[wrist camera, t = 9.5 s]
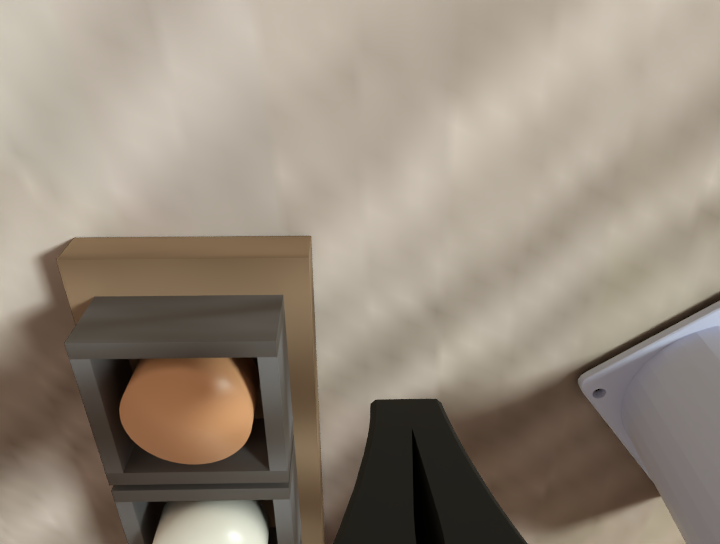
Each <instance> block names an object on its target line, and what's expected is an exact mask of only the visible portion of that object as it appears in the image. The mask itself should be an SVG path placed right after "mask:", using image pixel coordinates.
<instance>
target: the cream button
mask: <svg viewBox="0 0 720 544" xmlns="http://www.w3.org/2000/svg"><path fill="white" fill-rule="evenodd" d="M269 530H270V518H269V515H268V512H267V510H266V509H265V507H264V506H263V505H262V504H261V503H260V502H259V501H258V500H222V501H167V503H166V504H165V506H164V508H163V511H162V514H161V517H160V520H159V524H158V527H157V530H156V534H155V537H154V540H153V543H152V544H268V538H269Z"/></svg>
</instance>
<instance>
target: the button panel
mask: <svg viewBox="0 0 720 544" xmlns="http://www.w3.org/2000/svg"><path fill="white" fill-rule="evenodd" d="M56 261H57V265H58V268H59V271H60V275H61V278H62V281H63V285H64V288H65V291H66V295H67V298H68V301H69V305H70V308H71V311H72V315H73V318H74V321H75V325H76V326H75V328H74V329H73V331H72V332H71V334H70V336H69V337H68V339H67V340H66V342H65V343H64V344H65V347H66V350H67V354H68V357H69V360H70V363H71V366H72V369H73V372H74V375H75V379H76V382H77V385H78V388H79V391H80V394H81V397H82V401H83V404H84V407H85V410H86V413H87V416H88V419H89V423H90V426H91V429H92V432H93V435H94V438H95V441H96V444H97V448H98V451H99V454H100V457H101V460H102V463H103V466H104V470H105V473H106V476H107V479H108V482H109V485H114V486H113V488H112V490H111V492H112V495H113V498H114V501H115V504H116V507H117V510H118V513H119V517H120V520H121V523H122V526H123V529H124V532H125V535H126V539H127V542H128V544H152V543H153V540H154V537H155V534H156V530H157V527H158V524H159V520H160V517H161V514H162V511H163V508H164V506H165V504H166V503H167V501H222V500H258V501H259V502H260V503H261V504H262V505H263V506H264V507H265V509H266V510H267V512H268V515H269V518H270V530H269V538H268V544H325V535H324V512H323V490H322V468H321V446H320V423H319V401H318V379H317V357H316V335H315V312H314V290H313V268H312V246H311V236H238V237H107V238H74V239H73V240H72V241H71V242H70V244H69V245H68V246H67V247H66V249H65V250H64V251H63V252H62V253H61V255H60V256H59V257H58V258H57V259H56ZM242 357H251V358H252V359H253V360H254V362H255V364H256V366H257V369H258V372H259V377H260V384H259V391H258V396H257V402H256V407H255V413H254V418H253V424H252V430H251V433H250V436H249V438H248V440H247V442H246V443H245V444H244V445H243V447H242V448H240V449H239V450H238V451H237V452H236V453H234V454H233V455H231V456H229V457H227V458H225V459H222V460H220V461H216V462H213V463H207V464H181V463H175V462H171V461H167V460H164V459H161V458H159V457H156V456H154V455H152V454H150V453H148V452H147V451H145V450H144V449H142V448H141V447H140V446H138V445H137V444H136V443H135V442H134V441H133V440H132V439H131V438H130V437H129V435H128V434H127V433H126V431H125V429H124V428H123V425H122V423H121V419H120V413H119V408H120V402H121V399H122V397H123V394H124V392H125V390H126V388H127V386H128V383H129V381H130V379H131V377H132V375H133V372H134V370H135V368H136V366H137V364H138V362H139V359H155V358H242Z"/></svg>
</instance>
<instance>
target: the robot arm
mask: <svg viewBox="0 0 720 544" xmlns="http://www.w3.org/2000/svg"><path fill="white" fill-rule="evenodd" d="M578 385H579V387H580V389H581V391H582V392H583V394H584V395H585V396H586V398H587V399H588V400H589V401H590V403H591V404H592V405H593V406H594V408H595V409H596V410H597V412H598V413H599V414H600V415H601V417H602V418H603V419H604V421H605V422H606V423H607V424H608V426H609V427H610V428H611V429H612V431H613V432H614V433H615V435H616V436H617V437H618V438H619V440H620V441H621V442H622V443H623V445H624V446H625V447H626V449H627V450H628V451H629V452H630V454H631V455H632V456H633V458H634V459H635V460H636V461H637V463H638V464H639V465H640V466H641V468H642V469H643V470H644V472H645V473H646V474H647V475H648V477H649V478H650V479H651V480H652V482H653V483H654V484H655V486H656V488H657V490H658V492H659V494H660V495H661V497H662V499H663V501H664V503H665V505H666V507H667V508H668V510H669V512H670V514H671V516H672V518H673V520H674V521H675V523H676V525H677V527H678V529H679V531H680V533H681V535H682V536H683V538H684V540H685V542H686V544H720V301H718V302H716V303H714V304H712V305H710V306H708V307H707V308H705V309H703V310H701V311H699V312H697V313H695V314H693V315H692V316H690V317H688V318H686V319H684V320H682V321H680V322H678V323H677V324H675V325H673V326H671V327H669V328H667V329H665V330H663V331H662V332H660V333H658V334H656V335H654V336H652V337H650V338H649V339H647V340H645V341H643V342H641V343H639V344H637V345H635V346H634V347H632V348H630V349H628V350H626V351H624V352H622V353H620V354H619V355H617V356H615V357H613V358H611V359H609V360H607V361H605V362H604V363H602V364H600V365H598V366H596V367H594V368H592V369H591V370H589V371H587V372H585V373H583V374H582V375H581V376H580V377H579V379H578ZM597 389H600V390H599V391H596V392H594V391H595V390H597ZM333 544H527V543H526V541H525V540H524V539H523V537H522V536H521V535H520V533H519V532H518V531H517V529H516V528H515V527H514V525H513V524H512V522H511V521H510V520H509V518H508V517H507V515H506V514H505V513H504V511H503V510H502V508H501V507H500V506H499V504H498V503H497V501H496V500H495V498H494V497H493V495H492V494H491V492H490V491H489V489H488V487H487V486H486V484H485V483H484V481H483V479H482V478H481V476H480V475H479V473H478V472H477V470H476V468H475V467H474V465H473V463H472V462H471V460H470V458H469V457H468V455H467V453H466V452H465V450H464V448H463V446H462V444H461V442H460V441H459V439H458V437H457V435H456V433H455V431H454V429H453V427H452V425H451V423H450V421H449V419H448V417H447V415H446V413H445V411H444V408H443V406H442V403H441V402H439V401H438V400H437V399H389V400H375V401H374V402H373V403H371V407H370V426H369V433H368V438H367V443H366V447H365V452H364V456H363V459H362V463H361V466H360V470H359V473H358V477H357V480H356V484H355V487H354V490H353V493H352V496H351V498H350V501H349V504H348V507H347V509H346V512H345V515H344V517H343V520H342V523H341V526H340V528H339V531H338V533H337V535H336V538H335V540H334V543H333Z"/></svg>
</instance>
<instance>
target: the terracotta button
mask: <svg viewBox="0 0 720 544" xmlns="http://www.w3.org/2000/svg"><path fill="white" fill-rule="evenodd" d="M259 384H260V377H259V372H258V369H257V366H256V364H255V362H254V360H253V359H252V358H251V357H242V358H155V359H139V362H138V364H137V366H136V368H135V370H134V372H133V375H132V377H131V379H130V381H129V383H128V386H127V388H126V390H125V392H124V394H123V397H122V399H121V402H120V408H119V413H120V419H121V423H122V425H123V428H124V429H125V431H126V433H127V434H128V435H129V437H130V438H131V439H132V440H133V441H134V442H135V443H136V444H137V445H138V446H140V447H141V448H142V449H144V450H145V451H147V452H148V453H150V454H152V455H154V456H156V457H159V458H161V459H164V460H167V461H171V462H175V463H181V464H207V463H213V462H216V461H220V460H222V459H225V458H227V457H229V456H231V455H233V454H234V453H236V452H237V451H238V450H239V449H240V448H242V447H243V445H244V444H245V443H246V442H247V440H248V438H249V436H250V433H251V430H252V424H253V418H254V413H255V407H256V402H257V396H258V391H259Z"/></svg>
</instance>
